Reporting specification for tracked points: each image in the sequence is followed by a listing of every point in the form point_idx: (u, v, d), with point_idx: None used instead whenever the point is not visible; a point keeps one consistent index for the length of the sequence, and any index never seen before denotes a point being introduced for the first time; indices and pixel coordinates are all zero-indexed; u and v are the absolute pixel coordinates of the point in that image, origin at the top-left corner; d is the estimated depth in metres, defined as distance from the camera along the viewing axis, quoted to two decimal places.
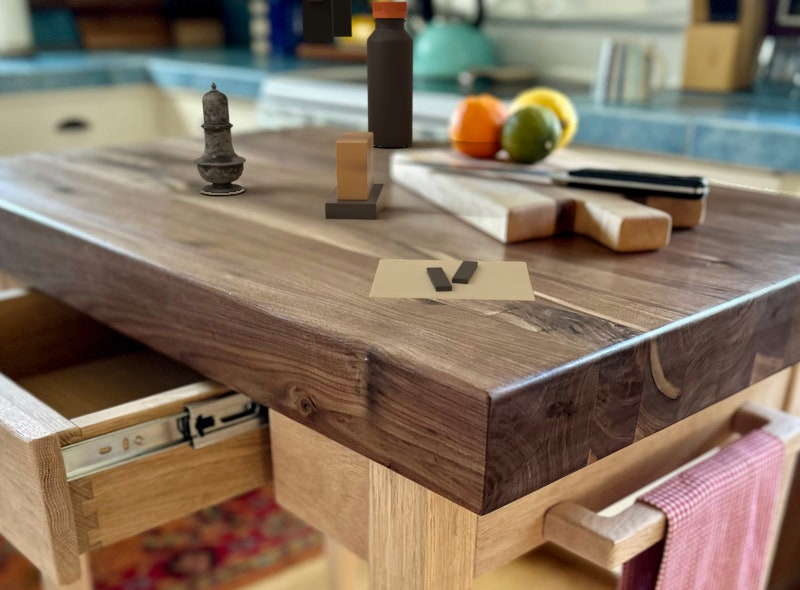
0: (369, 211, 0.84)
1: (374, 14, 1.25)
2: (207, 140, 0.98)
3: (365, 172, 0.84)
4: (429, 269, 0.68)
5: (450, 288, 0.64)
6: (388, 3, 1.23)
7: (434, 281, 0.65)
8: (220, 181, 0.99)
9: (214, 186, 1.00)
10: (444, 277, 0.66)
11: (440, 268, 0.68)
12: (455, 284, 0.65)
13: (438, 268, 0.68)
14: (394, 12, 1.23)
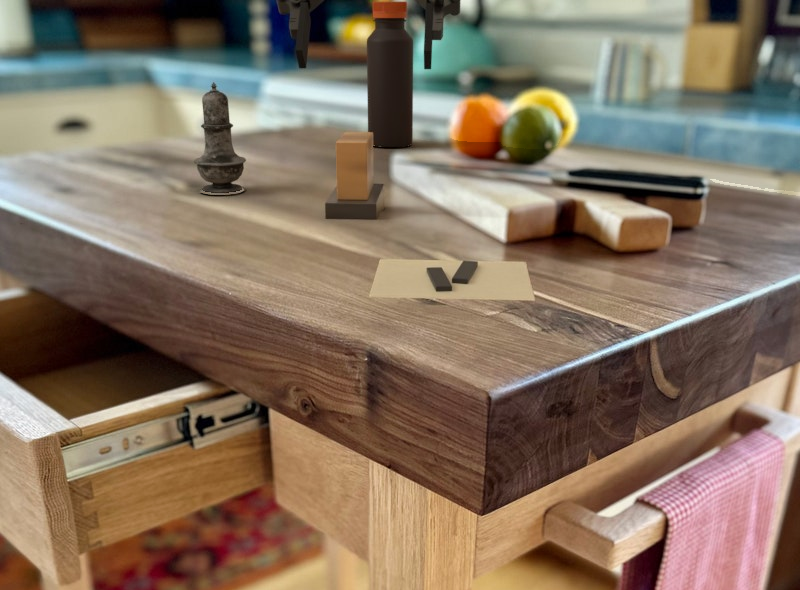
0: (369, 211, 0.84)
1: (374, 14, 1.25)
2: (207, 140, 0.98)
3: (365, 172, 0.84)
4: (429, 269, 0.68)
5: (450, 288, 0.64)
6: (388, 3, 1.23)
7: (434, 281, 0.65)
8: (220, 181, 0.99)
9: (214, 186, 1.00)
10: (444, 277, 0.66)
11: (440, 268, 0.68)
12: (455, 284, 0.65)
13: (438, 268, 0.68)
14: (394, 12, 1.23)
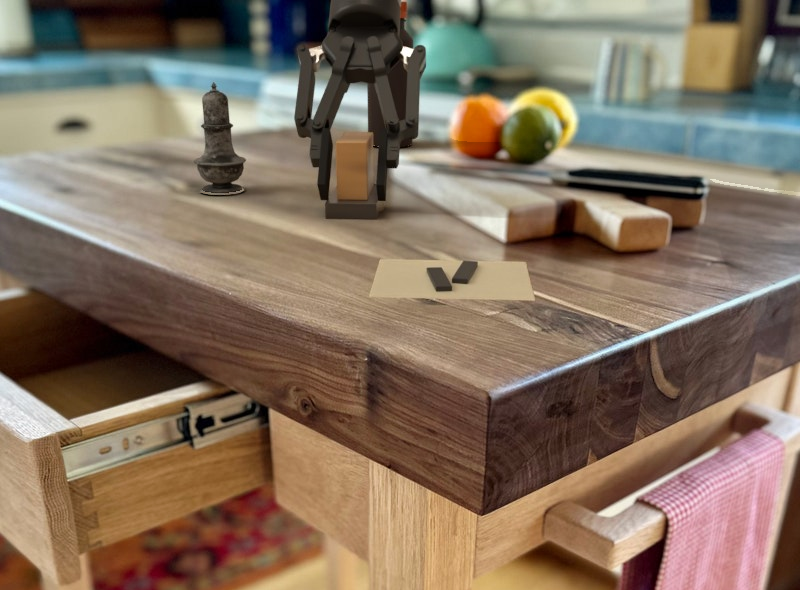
0: (369, 211, 0.84)
1: None
2: (207, 140, 0.98)
3: (365, 172, 0.84)
4: (429, 269, 0.68)
5: (450, 288, 0.64)
6: None
7: (434, 281, 0.65)
8: (220, 181, 0.99)
9: (214, 186, 1.00)
10: (444, 277, 0.66)
11: (440, 268, 0.68)
12: (455, 284, 0.65)
13: (438, 268, 0.68)
14: None
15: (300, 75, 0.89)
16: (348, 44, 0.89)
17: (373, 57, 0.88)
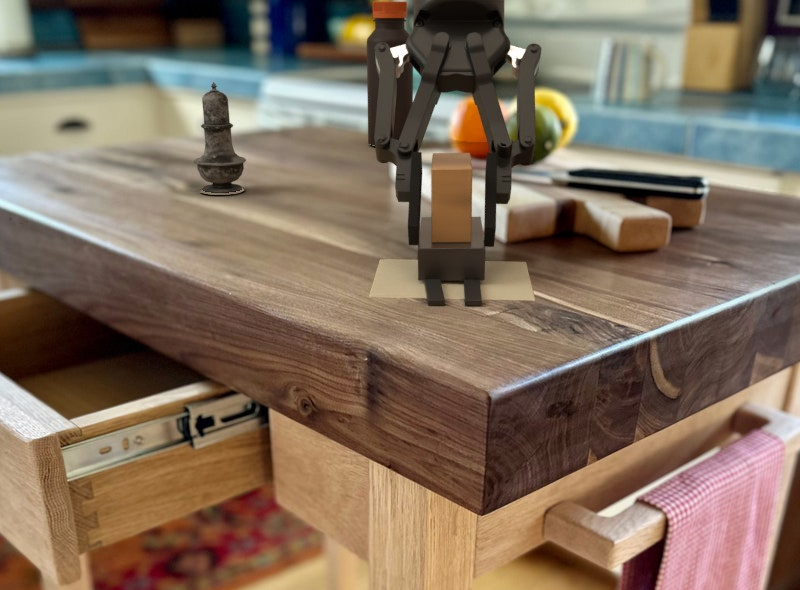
0: (476, 258, 0.65)
1: (374, 14, 1.25)
2: (207, 140, 0.98)
3: (469, 207, 0.64)
4: (426, 281, 0.65)
5: (443, 302, 0.61)
6: (388, 3, 1.23)
7: (428, 294, 0.62)
8: (220, 181, 0.99)
9: (214, 186, 1.00)
10: (439, 290, 0.63)
11: (438, 280, 0.65)
12: (455, 284, 0.65)
13: (436, 280, 0.65)
14: (394, 12, 1.23)
15: (380, 82, 0.69)
16: (442, 42, 0.69)
17: (475, 59, 0.68)
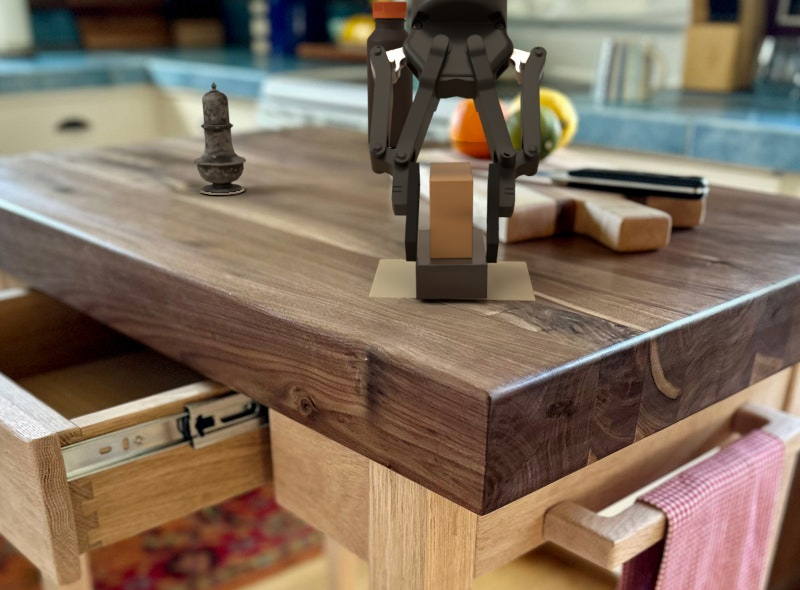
0: (477, 274, 0.61)
1: (374, 14, 1.25)
2: (207, 140, 0.98)
3: (470, 220, 0.60)
4: None
5: None
6: (388, 3, 1.23)
7: None
8: (220, 181, 0.99)
9: (214, 186, 1.00)
10: None
11: None
12: None
13: None
14: (394, 12, 1.23)
15: (375, 88, 0.65)
16: (441, 46, 0.65)
17: (476, 63, 0.64)
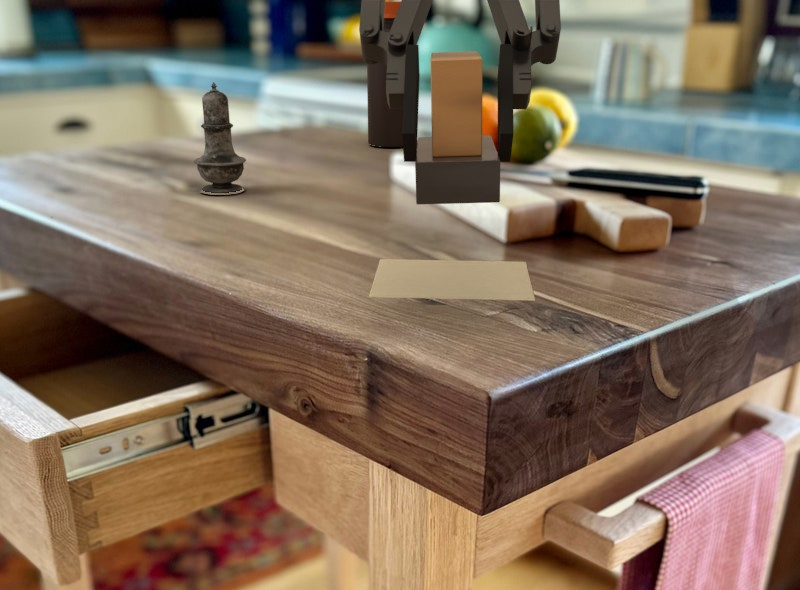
0: (488, 173, 0.51)
1: None
2: (207, 140, 0.98)
3: (479, 109, 0.51)
4: None
5: None
6: (388, 3, 1.23)
7: None
8: (220, 181, 0.99)
9: (214, 186, 1.00)
10: None
11: None
12: (455, 284, 0.65)
13: None
14: (394, 12, 1.23)
15: None
16: None
17: None
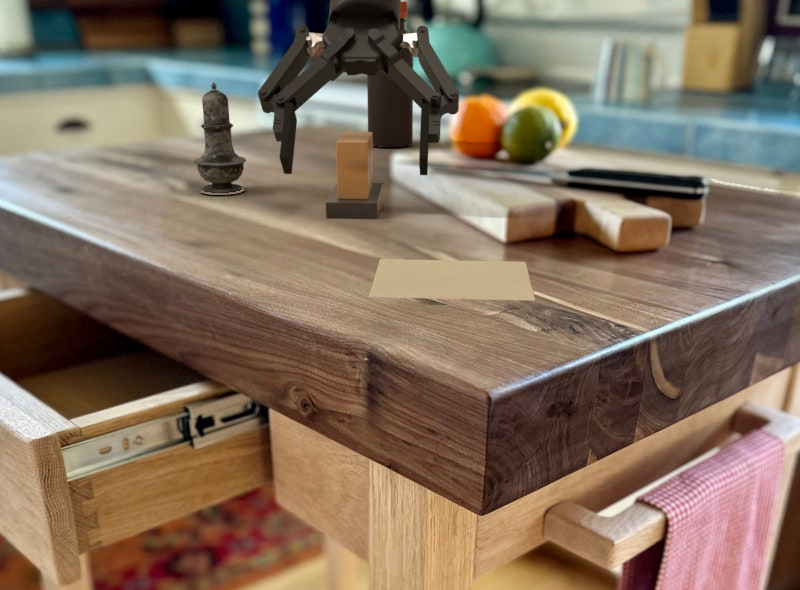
0: (370, 210, 0.85)
1: None
2: (207, 140, 0.98)
3: (366, 171, 0.85)
4: None
5: None
6: None
7: None
8: (220, 181, 0.99)
9: (214, 186, 1.00)
10: None
11: None
12: (455, 284, 0.65)
13: None
14: None
15: (286, 53, 0.89)
16: (346, 36, 0.89)
17: (382, 47, 0.88)
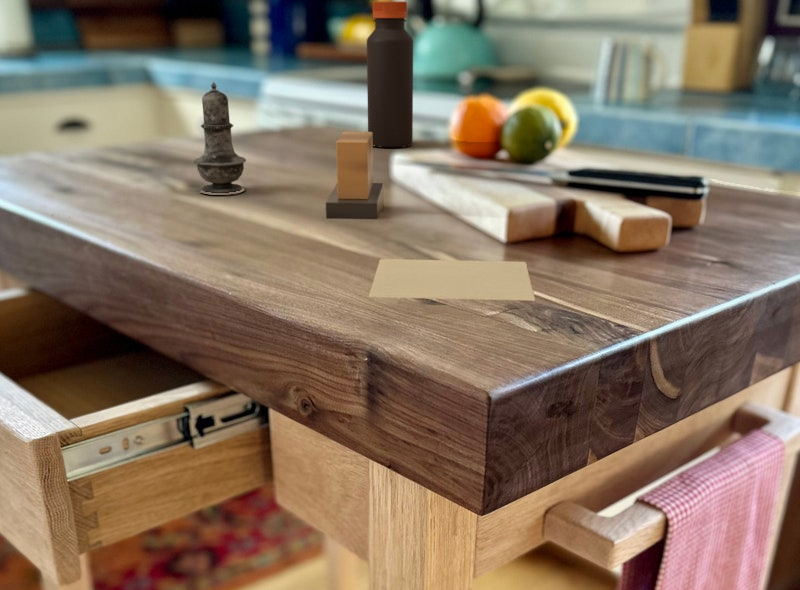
0: (370, 210, 0.85)
1: (374, 14, 1.25)
2: (207, 140, 0.98)
3: (366, 171, 0.85)
4: None
5: None
6: (388, 3, 1.23)
7: None
8: (220, 181, 0.99)
9: (214, 186, 1.00)
10: None
11: None
12: (455, 284, 0.65)
13: None
14: (394, 12, 1.23)
15: None
16: None
17: None
